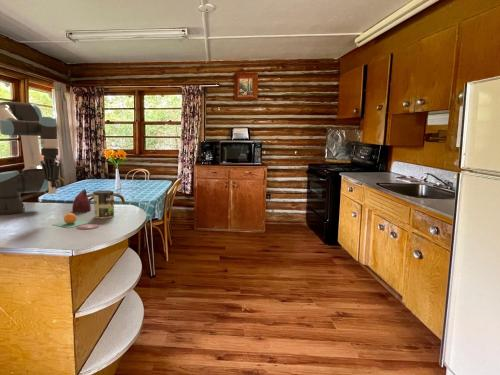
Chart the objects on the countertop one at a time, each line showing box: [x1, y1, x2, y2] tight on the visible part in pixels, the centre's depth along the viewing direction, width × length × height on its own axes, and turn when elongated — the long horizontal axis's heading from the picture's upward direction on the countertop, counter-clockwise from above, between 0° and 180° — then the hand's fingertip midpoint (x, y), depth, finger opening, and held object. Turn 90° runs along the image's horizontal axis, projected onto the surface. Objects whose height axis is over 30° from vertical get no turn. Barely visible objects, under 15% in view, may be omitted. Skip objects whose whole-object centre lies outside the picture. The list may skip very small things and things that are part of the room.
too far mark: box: [76, 223, 100, 231], centre depth 164 cm, size 10×10×1 cm
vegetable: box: [71, 188, 92, 213], centre depth 200 cm, size 10×10×15 cm
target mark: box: [52, 219, 90, 229], centre depth 169 cm, size 12×12×1 cm
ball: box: [63, 212, 77, 224], centre depth 169 cm, size 6×6×6 cm
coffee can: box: [92, 190, 115, 220], centre depth 186 cm, size 10×10×14 cm
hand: (52, 193), depth 173 cm, fingers closed
